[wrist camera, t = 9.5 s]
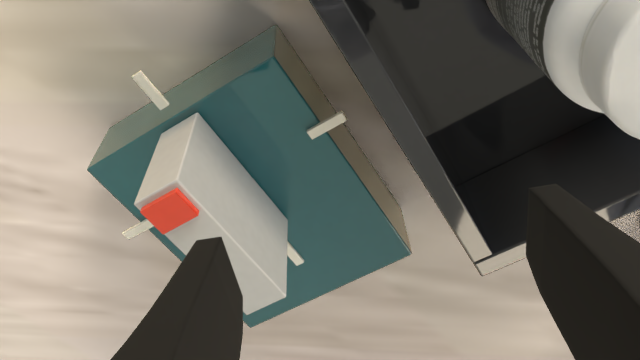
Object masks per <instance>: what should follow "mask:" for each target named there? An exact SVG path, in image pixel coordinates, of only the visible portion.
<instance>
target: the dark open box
mask: <svg viewBox="0 0 640 360" xmlns="http://www.w3.org/2000/svg"><path fill="white" fill-rule="evenodd" d="M309 1H310V3H311V4H312V6H313V8H314V9H315V11H316V12H317V14H318V16H319V17H320V19H321V20H322V22H323V24H324V25H325V27H326V28H327V30H328V32H329V33H330V35H331V36H332V38H333V40H334V41H335V43H336V44H337V46H338V48H339V49H340V51H341V52H342V54H343V56H344V57H345V59H346V60H347V62H348V64H349V65H350V67H351V68H352V70H353V72H354V73H355V75H356V76H357V78H358V80H359V81H360V83H361V84H362V86H363V88H364V89H365V91H366V92H367V94H368V96H369V97H370V99H371V100H372V102H373V104H374V105H375V107H376V109H377V110H378V112H379V113H380V115H381V117H382V118H383V120H384V121H385V123H386V125H387V126H388V128H389V129H390V131H391V133H392V134H393V136H394V137H395V139H396V141H397V142H398V144H399V145H400V147H401V149H402V150H403V152H404V153H405V155H406V157H407V158H408V160H409V161H410V163H411V165H412V166H413V168H414V169H415V171H416V173H417V174H418V176H419V177H420V179H421V181H422V182H423V184H424V185H425V187H426V189H427V190H428V192H429V193H430V195H431V197H432V198H433V200H434V201H435V203H436V205H437V206H438V208H439V209H440V211H441V213H442V214H443V216H444V218H445V219H446V221H447V222H448V224H449V226H450V227H451V229H452V230H453V232H454V234H455V235H456V237H457V238H458V240H459V242H460V243H461V245H462V246H463V248H464V250H465V251H466V253H467V254H468V256H469V258H470V259H471V261H472V262H473V264H474V266H475V267H476V269H477V270H478V272H479V274H480V275H481V276H485V275H487V274H489V273H492V272H494V271H496V270H499V269H501V268H503V267H506V266H508V265H510V264H513V263H515V262H517V261H520V260H522V259H524V258H526V257H527V256H526V236H527V215H528V193H529V188H532V187H538V186H544V185H551V184H557V185H559V186H560V187H561V188H563V189H564V190H565V191H567V192H568V193H569V194H571V195H572V196H574V197H575V198H576V199H578V200H579V201H580V202H582V203H583V204H584V205H586V206H587V207H588V208H590V209H591V210H593V211H594V212H595V213H597V214H598V215H599V216H601V217H602V218H604V219H605V220H606V221H608V222H610V221H613V220H615V219H617V218H620V217H622V216H624V215H627V214H629V213H631V212H634V211H636V210H638V209H640V139H637V138H635V137H633V136H630V135H628V134H627V133H625V132H624V131H623V130H621V129H620V128H619V127H617V126H616V125H615V124H614V123H613V122H612V121H611V120H610V119H609V118H608V117H607V116H606V115H605V114H604V113H600V112H596V111H592V110H590V109H587V108H584V107H582V106H580V105H579V104H577V103H575V102H574V101H572V100H571V99H569V98H568V97H567V96H566V95H564V94H563V93H562V92H561V91H560V90H559V89H558V88H557V87H556V86H555V85H554V84H553V83H552V81H551V80H550V79H549V78H548V77H547V76H546V75H545V74H544V72H543V71H542V70H541V69H540V68H539V66H538V65H537V64H536V63H535V62H534V61H533V60H532V59H531V58H530V56H529V55H528V54H527V53H526V52H525V51H524V49H523V48H522V47H521V46H520V45H519V44H518V43H517V42H516V41H515V39H514V38H513V37H512V36H511V35H510V34H509V33H508V32H507V31H506V30H505V29H504V28H503V26H502V25H501V24H500V23H499V22H498V21H497V19H496V18H495V17H494V15H493V14H492V12H491V11H490V9H489V7H488V5H487V2H486V0H309Z"/></svg>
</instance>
